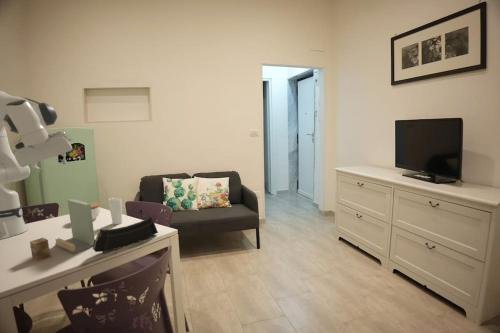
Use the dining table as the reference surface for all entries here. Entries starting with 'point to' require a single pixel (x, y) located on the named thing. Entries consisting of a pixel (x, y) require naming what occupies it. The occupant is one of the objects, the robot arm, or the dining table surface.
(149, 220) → the magazine
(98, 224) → the dining table surface
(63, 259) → the dining table surface
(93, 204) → the lidded bowl
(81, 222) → the wall board
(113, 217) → the drinking glass
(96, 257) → the dining table surface
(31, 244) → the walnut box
